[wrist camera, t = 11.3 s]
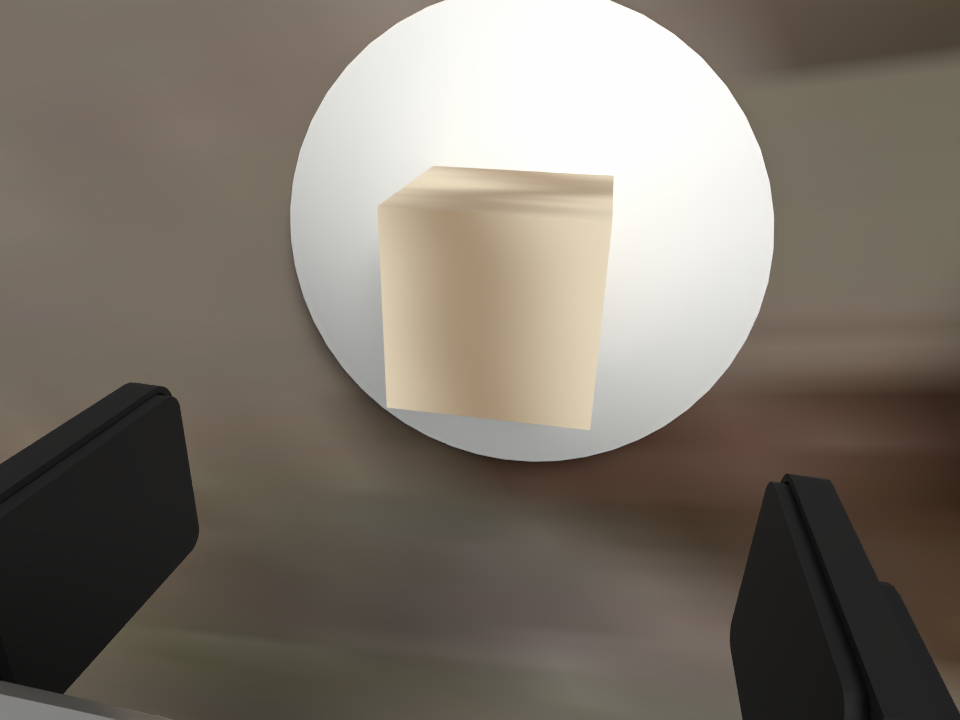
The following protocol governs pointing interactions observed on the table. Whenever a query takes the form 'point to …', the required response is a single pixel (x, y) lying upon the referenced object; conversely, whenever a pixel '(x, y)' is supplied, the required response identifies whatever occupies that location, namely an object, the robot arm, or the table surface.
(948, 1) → the table surface
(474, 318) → the maple block
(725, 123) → the ceramic dish
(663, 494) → the table surface
